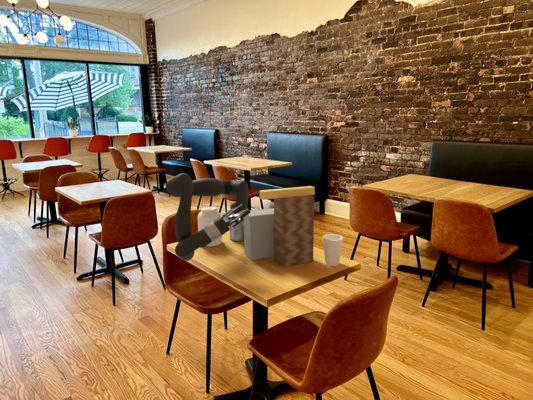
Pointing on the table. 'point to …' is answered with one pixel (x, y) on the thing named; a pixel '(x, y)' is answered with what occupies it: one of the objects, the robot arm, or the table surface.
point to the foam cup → (332, 249)
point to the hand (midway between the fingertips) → (246, 207)
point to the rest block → (259, 234)
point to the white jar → (208, 221)
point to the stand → (293, 230)
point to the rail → (287, 192)
